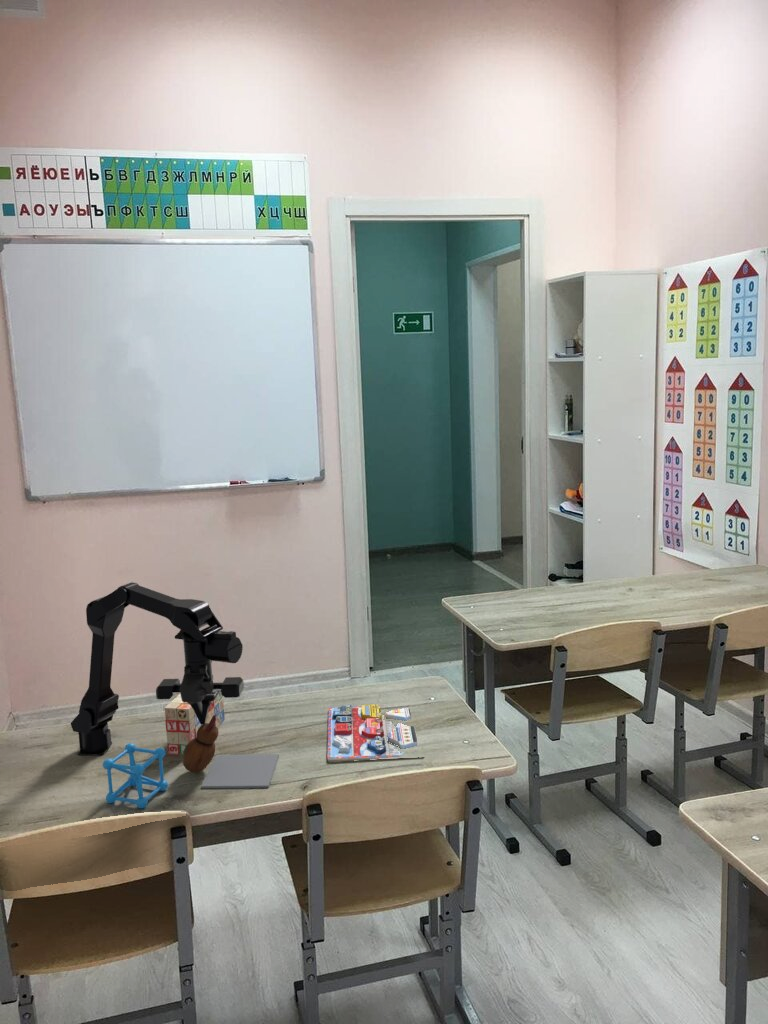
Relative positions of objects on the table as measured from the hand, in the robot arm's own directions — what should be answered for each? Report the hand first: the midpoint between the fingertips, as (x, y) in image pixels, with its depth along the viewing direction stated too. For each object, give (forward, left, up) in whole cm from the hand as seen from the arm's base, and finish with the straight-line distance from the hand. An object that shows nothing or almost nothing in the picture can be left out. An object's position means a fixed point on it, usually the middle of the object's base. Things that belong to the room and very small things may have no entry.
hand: (203, 723), depth 189 cm
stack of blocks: (-7, +19, -12) cm, 24 cm away
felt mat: (+8, 0, -12) cm, 14 cm away
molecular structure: (-13, -10, -12) cm, 20 cm away
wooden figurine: (-3, 0, -11) cm, 12 cm away
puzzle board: (+38, +20, -13) cm, 45 cm away
